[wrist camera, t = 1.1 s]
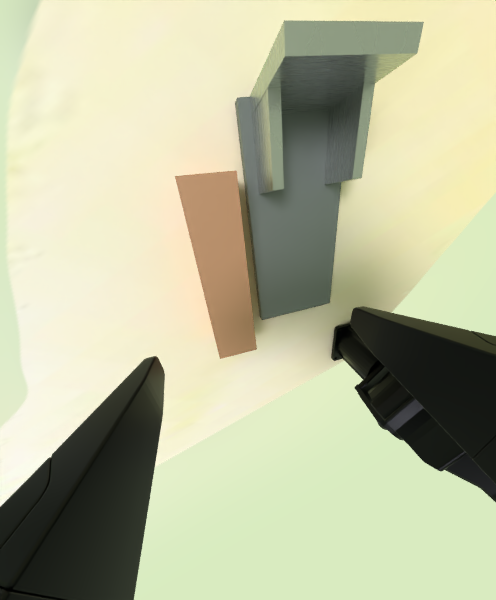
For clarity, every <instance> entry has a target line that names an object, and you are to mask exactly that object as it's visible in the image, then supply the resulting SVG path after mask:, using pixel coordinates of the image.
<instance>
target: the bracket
mask: <svg viewBox="0 0 496 600" xmlns="http://www.w3.org/2000/svg"><path fill="white" fill-rule="evenodd" d="M423 23H424V22H375V21H284V22H283V24H282V27H281V29H280V31H279V33H278V35H277V38H276V40H275V42H274V44H273V46H272V49H271V51H270V53H269V55H268V57H267V60H266V62H265V64H264V66H263V68H262V71H261V73H260V75H259V77H258V79H257V82H256V84H255V86H254V88H253V90H252V93H251V95H250V108H251V116H252V123H253V134H254V146H255V157H256V169H257V180H258V192H259V194H262V193H269V192H273V191H277V190H281V189H284V177H283V144H282V114H286V113H299V112H313V111H327V110H329V113H328V130H327V147H326V164H325V181H324V185H326V184H333V183H338V182H343V181H348V180H354V179H359V178H362V172H363V164H364V157H365V150H366V143H367V136H368V129H369V121H370V114H371V107H372V100H373V93H374V86H375V83H376V82H378V81H379V80H381V79H382V78H383V77H385V76H386V75H388V74H389V73H390V72H392V71H393V70H395V69H396V68H397V67H399V66H400V65H402V64H403V63H404V62H406V61H407V60H409V59H410V58H411V57H413V56H414V55H416V54H417V52H418V47H419V42H420V37H421V33H422V28H423Z"/></svg>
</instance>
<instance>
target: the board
mask: <svg viewBox="0 0 496 600" xmlns="http://www.w3.org/2000/svg"><path fill="white" fill-rule="evenodd" d="M235 106H236V115H237V123H238V132H239V140H240V149H241V157H242V166H243V175H244V183H245V192H246V200H247V209H248V217H249V226H250V234H251V243H252V252H253V260H254V269H255V277H256V286H257V294H258V303H259V312H260V317H261V319H262V320H264V319H268V318H272V317H276V316H280V315H284V314H288V313H292V312H296V311H300V310H304V309H308V308H312V307H316V306H320V305H324V304H328V303H330V293H331V283H332V273H333V262H334V252H335V241H336V231H337V221H338V210H339V200H340V189H341V182H338V183H333V184H326V185H324V181H325V164H326V147H327V130H328V113H329V110H327V111H313V112H299V113H286V114H282V144H283V177H284V189H281V190H277V191H273V192H269V193H262V194H259V192H258V180H257V169H256V157H255V146H254V134H253V123H252V116H251V108H250V97H240V98H237V100H236V103H235Z"/></svg>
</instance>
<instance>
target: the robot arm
mask: <svg viewBox="0 0 496 600" xmlns="http://www.w3.org/2000/svg"><path fill="white" fill-rule="evenodd" d="M331 358H332V359H333V360H334V361H336V360H339V359H342V358H343V359H344V360H345V361H346V362H347V363H348V364H349V365H350V366H351V367H352V368H353V369H354V370H355V372H356V373H358V375H359V376H360V377H361V378H362V379H363V381H362V382H361V383H360V384H359V385H356V386H355V389H356V390H357V392H358V394H359V395H360V397H361V399H362V400H363V401H364V403H365V404H366V406H367V407H368V409H369V410H370V412H371V413H372V414H373V416H374V417H375V419H376V420H377V422H378V424H379V426H380V427H381V428H383V429H385V430H388V431H389V432H390V433H391V434H393V435H394V436H395V437H397V438H398V439H400V440H404V441H405V442H406V443H407V444H408V445H409V446H410V447H411V448H412V449H413V450H414V451H415V453H416V454H417V455H418V456H419V457H420V458H421V459H422V460H423V461H424V462H425V463H427V464H429V465H430V466H432V467H434V468H435V469H437V470H439V471H443V470H446V471H448V472H450V473H452V474H454V475H456V476H458V477H460V478H462V479H464V480H466V481H468V482H470V483H472V484H474V485H476V486H478V487H479V488H481V489H482V490H483V491H484V492H485V493H486V494H488V496H490V497H491V498H492V499H493V500H494V501H495V502H496V336H492V335H487V334H483V333H479V332H474V331H469V330H465V329H461V328H456V327H452V326H447V325H443V324H439V323H434V322H429V321H425V320H421V319H416V318H412V317H407V316H403V315H398V314H394V313H390V312H386V311H381V310H377V309H372V308H368V307H363V306H362V307H357V308H354V309H353V311H352V316H351V321H350V323H348V324H344V325H341V326H338V327H336V328H335V332H334V341H333V349H332V357H331ZM164 380H165V374H164V370H163V367H162V365H161V363H160V361H159V359H158V357H156V356H154V357H149V358H146V359H144V360H143V361H142V362H141V363H140V364H139V366H138V367H137V368H136V369H135V370H134V371H133V372H132V373H131V374H130V375H129V376H128V377H127V378H126V379H125V380H124V381H123V382H122V383H121V384H120V385H119V386H118V387H117V388H116V389H115V390H114V391H113V392H112V393H111V394H110V395H109V396H108V397H107V398H106V399H105V401H104V402H103V403H102V404H101V405H100V406H99V407H98V408H97V409H96V410H95V411H94V412H93V413H92V414H91V415H90V416H89V417H88V418H87V419H86V420H85V421H84V422H83V423H82V424H81V425H80V426H79V427H78V428H77V429H76V430H75V431H74V432H73V433H72V434H71V436H70V437H69V438H68V439H67V440H66V441H65V442H64V443H63V444H62V445H61V446H60V447H59V448H58V449H57V450H56V451H55V452H54V453H53V454H52V457H50V458H48V459H47V460H46V461H45V462H44V463H43V464H42V465H41V466H40V467H39V468H38V469H37V470H36V471H35V472H34V473H33V475H32V476H31V477H30V478H29V479H28V480H27V481H26V482H25V483H24V484H23V485H22V486H21V487H20V488H19V489H18V490H17V491H16V492H15V493H14V494H13V495H12V496H11V497H10V498H9V499H8V500H7V501H6V502H5V503H4V504H3V505H2V506H1V507H0V600H134V594H135V587H136V581H137V575H138V569H139V562H140V556H141V550H142V543H143V537H144V530H145V524H146V518H147V512H148V505H149V499H150V493H151V486H152V479H153V474H154V467H155V461H156V455H157V449H158V442H159V436H160V430H161V423H162V416H163V402H164Z"/></svg>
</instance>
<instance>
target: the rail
mask: <svg viewBox="0 0 496 600" xmlns="http://www.w3.org/2000/svg"><path fill="white" fill-rule="evenodd" d="M175 178H176V182H177V186H178V190H179V194H180V198H181V202H182V206H183V210H184V215H185V219H186V223H187V227H188V231H189V235H190V239H191V243H192V247H193V251H194V255H195V259H196V263H197V267H198V271H199V275H200V279H201V283H202V287H203V292H204V296H205V300H206V304H207V308H208V312H209V316H210V320H211V324H212V328H213V332H214V336H215V340H216V344H217V348H218V352H219V356H220V359H221V358H225V357H229V356H233V355H237V354H241V353H245V352H248V351H252V350H256V349H257V348H256V339H255V330H254V321H253V313H252V304H251V295H250V286H249V277H248V268H247V259H246V251H245V242H244V233H243V224H242V215H241V206H240V197H239V189H238V180H237V171H227V172H216V173H206V174H195V175H184V176H175Z"/></svg>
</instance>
